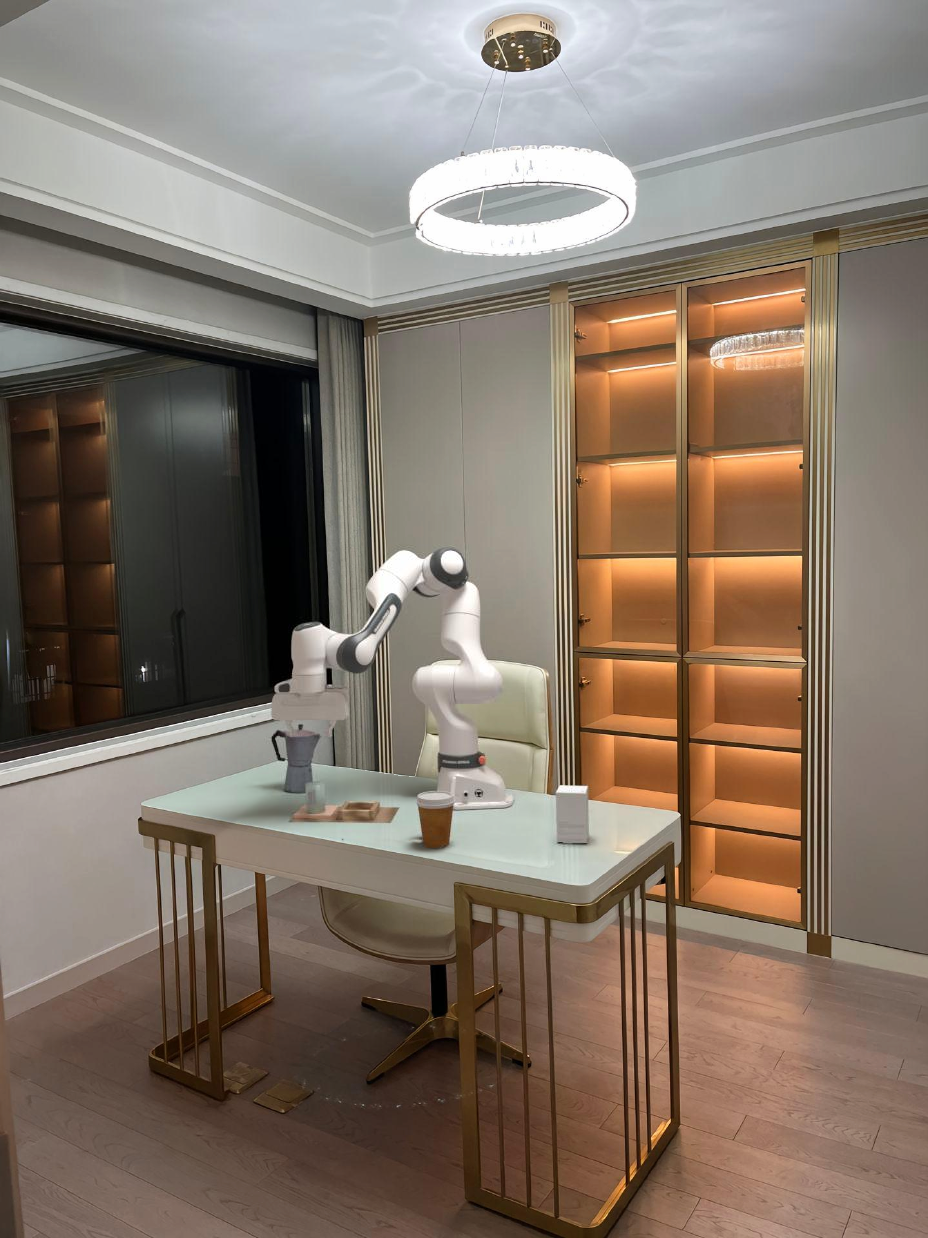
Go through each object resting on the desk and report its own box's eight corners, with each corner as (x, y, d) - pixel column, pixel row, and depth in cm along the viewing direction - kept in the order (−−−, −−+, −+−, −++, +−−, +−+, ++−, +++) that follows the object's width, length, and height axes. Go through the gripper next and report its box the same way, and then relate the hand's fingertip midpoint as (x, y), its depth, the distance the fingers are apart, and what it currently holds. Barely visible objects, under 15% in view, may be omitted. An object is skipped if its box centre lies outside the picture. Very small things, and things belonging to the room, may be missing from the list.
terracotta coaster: (339, 808, 258) (339, 805, 257) (330, 818, 248) (330, 815, 248) (303, 808, 258) (303, 805, 258) (293, 818, 248) (293, 815, 248)
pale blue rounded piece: (320, 816, 246) (319, 788, 246) (301, 816, 246) (300, 788, 246) (327, 809, 254) (326, 781, 254) (309, 809, 254) (308, 781, 254)
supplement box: (589, 836, 232) (589, 785, 231) (586, 845, 225) (586, 793, 224) (559, 834, 234) (559, 784, 233) (555, 843, 227) (555, 791, 226)
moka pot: (320, 793, 278) (318, 726, 277) (268, 794, 278) (266, 727, 277) (325, 786, 288) (324, 721, 286) (275, 786, 288) (273, 721, 287)
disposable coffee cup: (459, 839, 231) (458, 791, 230) (452, 851, 222) (451, 801, 221) (421, 837, 233) (420, 790, 232) (412, 849, 223) (411, 799, 222)
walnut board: (399, 811, 258) (399, 798, 257) (390, 826, 243) (390, 813, 242) (303, 810, 260) (302, 797, 260) (288, 825, 245) (287, 812, 245)
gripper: (351, 682, 248) (352, 734, 249) (275, 683, 250) (276, 734, 251) (346, 686, 242) (347, 739, 243) (268, 686, 244) (270, 739, 245)
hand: (311, 736), depth 247 cm, fingers open, 8 cm apart
